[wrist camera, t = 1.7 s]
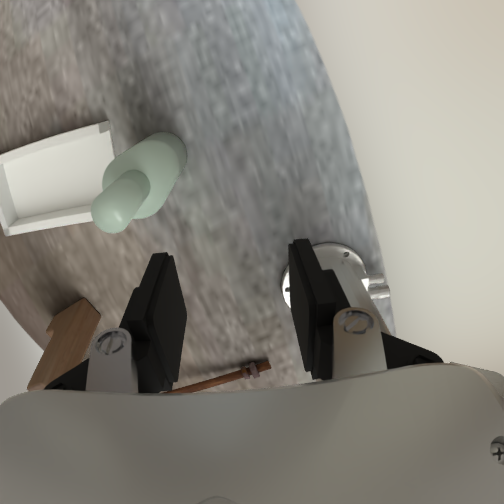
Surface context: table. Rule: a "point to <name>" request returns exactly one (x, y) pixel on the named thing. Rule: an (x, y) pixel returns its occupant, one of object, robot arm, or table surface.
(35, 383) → the wooden block
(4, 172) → the u rest
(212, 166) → the table surface
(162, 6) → the table surface
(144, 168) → the bottle
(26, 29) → the table surface
